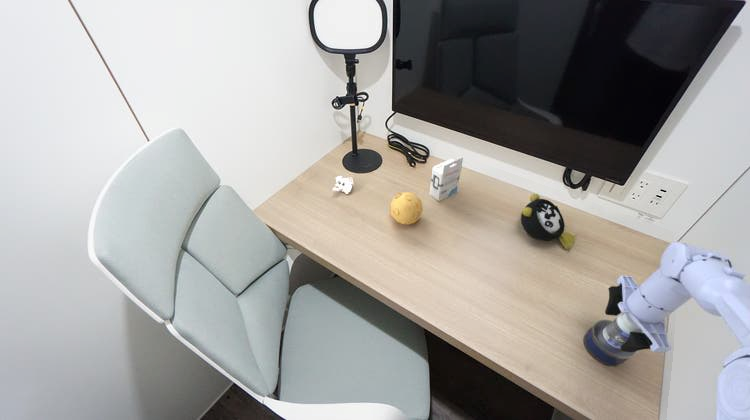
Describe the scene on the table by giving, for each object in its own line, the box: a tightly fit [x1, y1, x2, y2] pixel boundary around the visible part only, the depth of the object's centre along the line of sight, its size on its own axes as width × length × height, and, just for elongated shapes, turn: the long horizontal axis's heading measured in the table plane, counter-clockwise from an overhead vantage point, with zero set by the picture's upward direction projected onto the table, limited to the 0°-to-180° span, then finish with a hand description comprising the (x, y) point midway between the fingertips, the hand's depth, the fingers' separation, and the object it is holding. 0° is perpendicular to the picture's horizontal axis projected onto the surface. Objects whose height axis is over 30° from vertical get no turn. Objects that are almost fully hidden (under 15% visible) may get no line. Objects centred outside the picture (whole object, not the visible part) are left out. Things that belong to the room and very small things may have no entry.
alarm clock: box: [520, 193, 576, 250], centre depth 90 cm, size 12×15×15 cm
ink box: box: [429, 157, 464, 202], centre depth 103 cm, size 8×5×15 cm, turn 124°
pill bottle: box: [603, 313, 644, 349], centre depth 63 cm, size 5×5×8 cm
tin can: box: [582, 319, 638, 367], centre depth 68 cm, size 8×8×5 cm
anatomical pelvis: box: [332, 175, 354, 195], centre depth 110 cm, size 8×4×7 cm
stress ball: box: [390, 191, 424, 225], centre depth 96 cm, size 10×10×10 cm
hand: (618, 331), depth 64 cm, fingers open, 7 cm apart
